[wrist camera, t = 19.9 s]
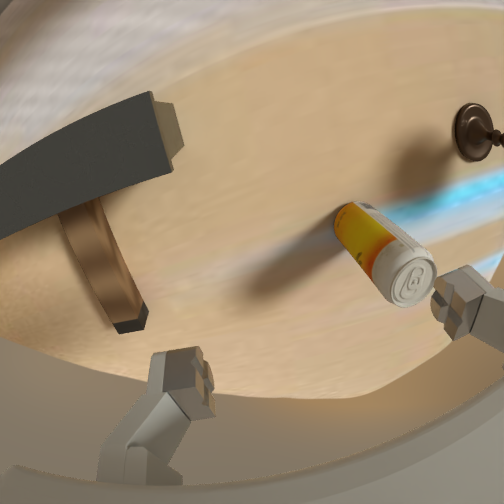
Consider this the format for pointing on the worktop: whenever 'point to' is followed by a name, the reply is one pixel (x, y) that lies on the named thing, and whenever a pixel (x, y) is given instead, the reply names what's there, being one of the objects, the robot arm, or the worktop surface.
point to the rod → (104, 265)
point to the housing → (89, 160)
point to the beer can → (386, 254)
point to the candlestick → (476, 132)
